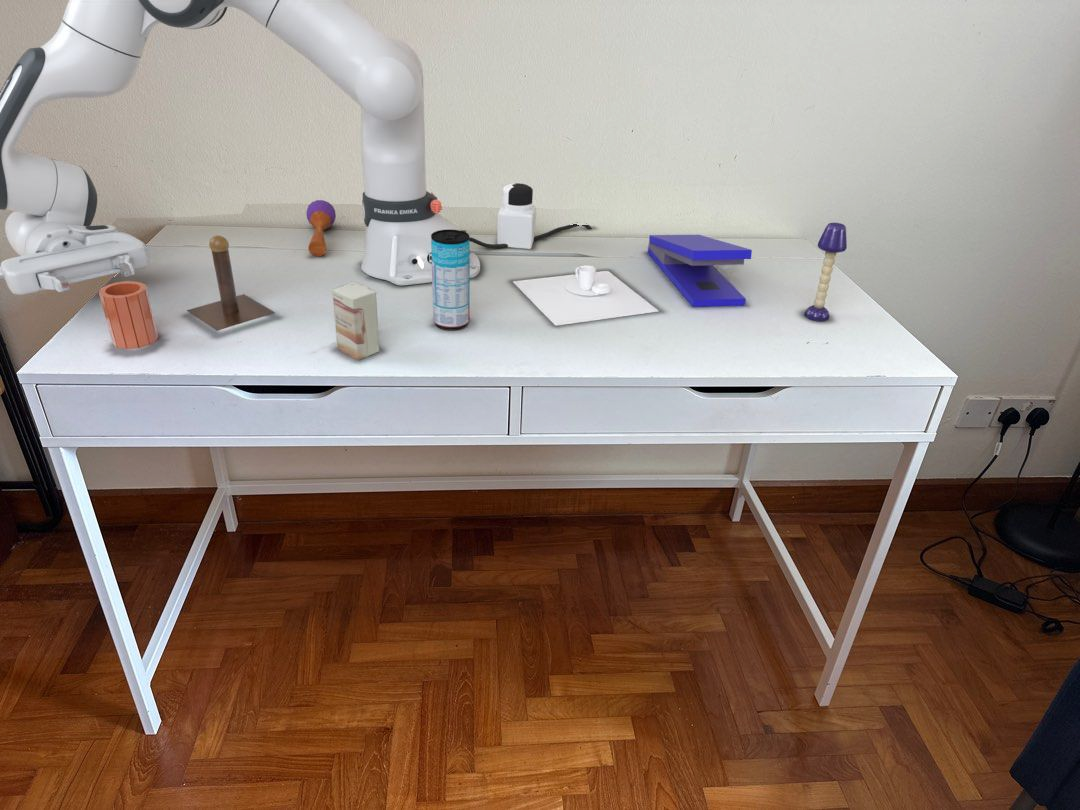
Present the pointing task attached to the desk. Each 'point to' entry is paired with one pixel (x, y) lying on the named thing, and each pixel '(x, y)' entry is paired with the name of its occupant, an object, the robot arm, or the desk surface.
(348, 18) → the robot arm
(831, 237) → the toy lamp
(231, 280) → the holder
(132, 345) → the orange slatted tube
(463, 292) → the beverage can
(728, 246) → the stapler
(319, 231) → the kendama
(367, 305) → the white product box
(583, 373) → the desk surface
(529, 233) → the medicine bottle
